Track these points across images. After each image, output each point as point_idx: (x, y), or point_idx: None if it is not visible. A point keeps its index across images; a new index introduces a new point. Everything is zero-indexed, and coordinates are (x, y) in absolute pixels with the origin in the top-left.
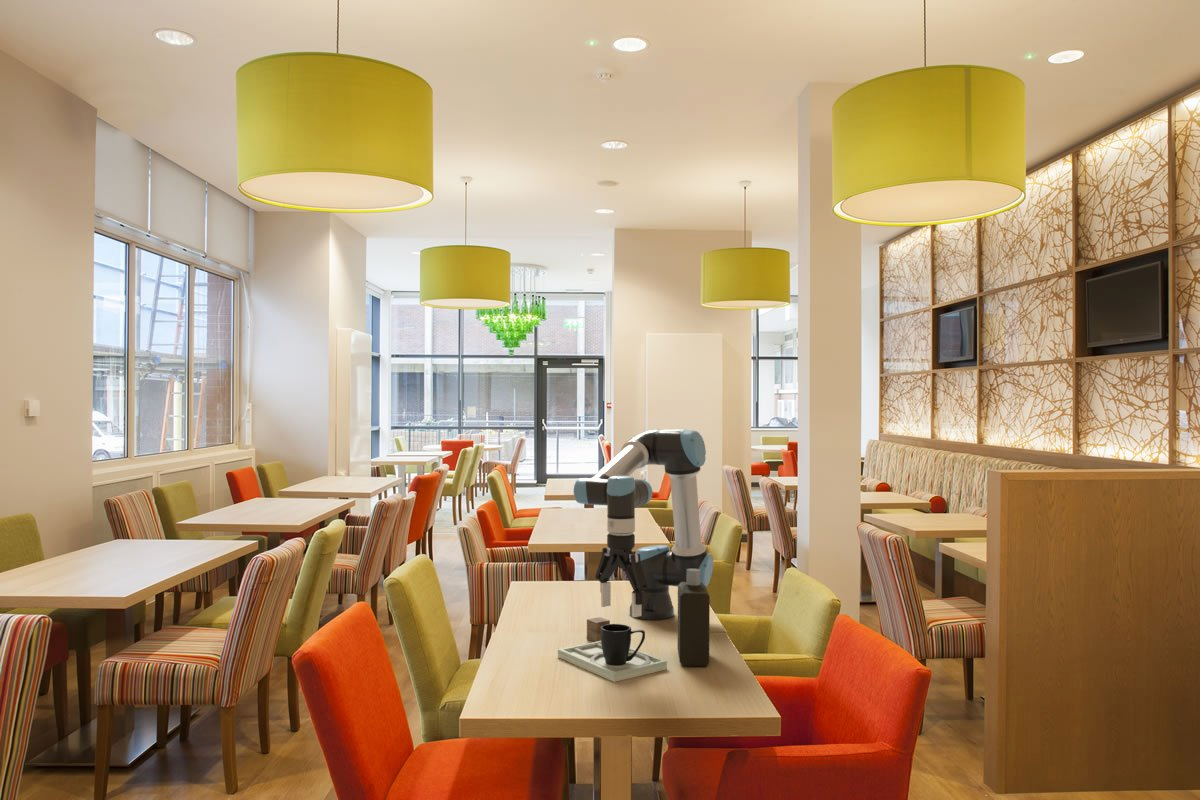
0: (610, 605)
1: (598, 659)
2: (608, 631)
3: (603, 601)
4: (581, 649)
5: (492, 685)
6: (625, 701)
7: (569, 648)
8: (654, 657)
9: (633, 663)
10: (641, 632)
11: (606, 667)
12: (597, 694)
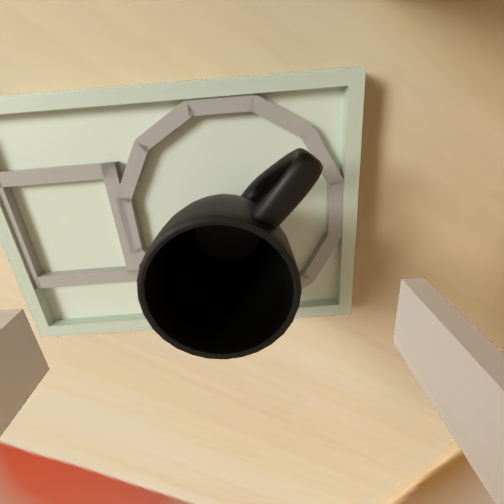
0: (21, 309)
1: None
2: (256, 351)
3: (22, 397)
4: (35, 255)
5: (206, 493)
6: None
7: (39, 302)
8: (293, 84)
9: None
10: (312, 182)
11: None
12: (388, 371)
